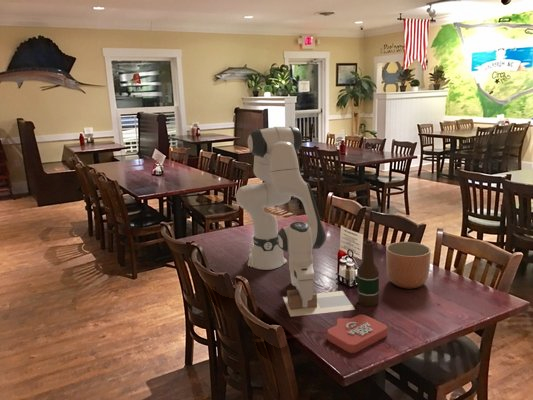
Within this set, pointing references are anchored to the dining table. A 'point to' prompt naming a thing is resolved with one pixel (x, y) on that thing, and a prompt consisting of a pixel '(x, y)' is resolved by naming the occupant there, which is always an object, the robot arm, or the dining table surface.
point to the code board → (324, 304)
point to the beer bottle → (368, 278)
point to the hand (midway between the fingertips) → (302, 300)
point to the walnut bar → (300, 300)
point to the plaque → (356, 333)
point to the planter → (408, 264)
